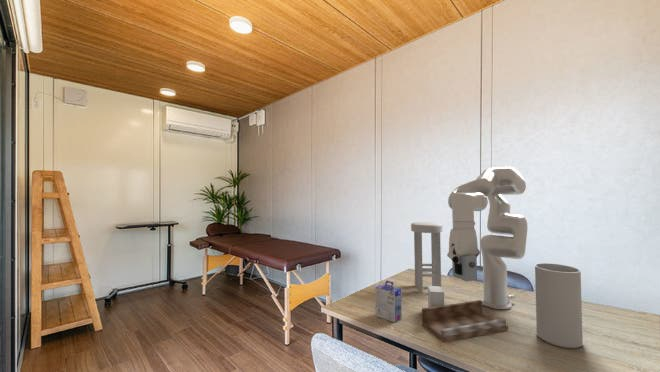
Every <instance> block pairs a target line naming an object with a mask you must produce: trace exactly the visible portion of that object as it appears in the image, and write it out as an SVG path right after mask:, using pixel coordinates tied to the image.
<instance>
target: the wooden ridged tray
mask: <svg viewBox="0 0 660 372" xmlns="http://www.w3.org/2000/svg"><path fill="white" fill-rule="evenodd" d="M421 325H422V326H423V328H425V329H426V330H427V331H429V332H430V333H432V334H433V335H434V336H436V337H437V338H438V339H440V340H441V341H442V342H443V343H447V342H453V341H456V340H463V339H469V338H473V337H479V336H485V335H489V334H490V335H491V334H495V333H499V332H500V333H501V332H504V331H505V332H506V331H508V330H509V329H508V328H509V327H508V325H507V319H505V318H500V319H494V318H493V317H490V316H489V315H486V314H485V313H483V304H482V301H481V300H480V299H478V300H473V301H471V300H470V301H463V302H457V303H452V304H444V305H443V306H436V307H429V308H428V307H422V308H421Z"/></svg>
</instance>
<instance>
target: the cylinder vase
mask: <svg viewBox="0 0 660 372" xmlns="http://www.w3.org/2000/svg"><path fill="white" fill-rule="evenodd" d="M534 272H535V273H534V276H535V277H534V279H535V280H534V281H535V285H534V286H535V317H536V319H535V320H536V321H535V322H536V334H537V336H538V337H539V338H540V339H541V340H542V341H545V342H546V343H548V344H550V345H553V346H557V347H560V348H564V349H578V348H581V347H582V346H583V343H584V342H583V340H584V339H583V337H584V336H583V312H582V311H583V310H582V308H583V306H582V279H581V278H582V276H581V275H582V274H581V269H579V268H578V267H574V266H570V265H567V264H566V265H565V264H559V263H550V262H549V263H547V262H540V263H536V264H535V265H534Z"/></svg>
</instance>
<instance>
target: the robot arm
mask: <svg viewBox="0 0 660 372" xmlns="http://www.w3.org/2000/svg"><path fill="white" fill-rule="evenodd" d="M526 184H527V183H526V180H525V178H524V177H523V176H522V175H521V173H520V172H519V171H518V169H515V168H514V167H511V166H508V167H507V166H505V167H503V166H502V167H491V168H490V167H489V168H487V169H484V170H483V171H482V172H481V173H480V174H479V175H478V177H477V178H476V179H475V180H471V181H468V182H466V183H463V184H460V185H458V186H457V187H455V188H454V189H453V190H452V192H451V193H450V194H449V196H448V199H447V204H448V206H449V208H450V209H451V212H452V214H451V215H452V228H451V229H450V232H449V237H448V252H447V254H446V256H447V257H448V258H449V259H450V261H453V263H454V264H455V273H456V274H459V275H462V264H460V263H461V256H466V255H476V256H477V257H478V256H480V254H481V256H482V272H483V273H482V277H483V278H482V280H483V281H482V283H483V297H480V299H479V300H481V301H482V306H484V307H487V308H490V309H495V310H503V311H504V310H509V309H512V307H513V305H512V304H513V303H511V302H510V300H514V299H516V296H515V295H514V294H508V269H507V264H506V263H505V261H504V260H503V258H505V259H510V260H511V259H512V260H521V259H523V258H524V256H525V254H526V246H527V237H528V222H527V219H526V217H525V216H524V215H521V214H511V213H510V212H511V204H510V202H508V199H506V198H505V197H504V196H503V195H516V196H517V195H522V194H524V193H525V191H526V188H527V185H526ZM488 204H489V209H488V217H487V222H486V223H487V225H486V228H487V231H488V232H490V233H491V234H486V235H484V236H482V237H481V238H480V242H479V245H480V250H479V245H478V237H477V232H476V228H475V226H476V222H475V212H481V211H484V210H485V209H486V208H487V206H488ZM505 235H506V236H505ZM453 254H454V256H453ZM457 257H458V260H457Z"/></svg>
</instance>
